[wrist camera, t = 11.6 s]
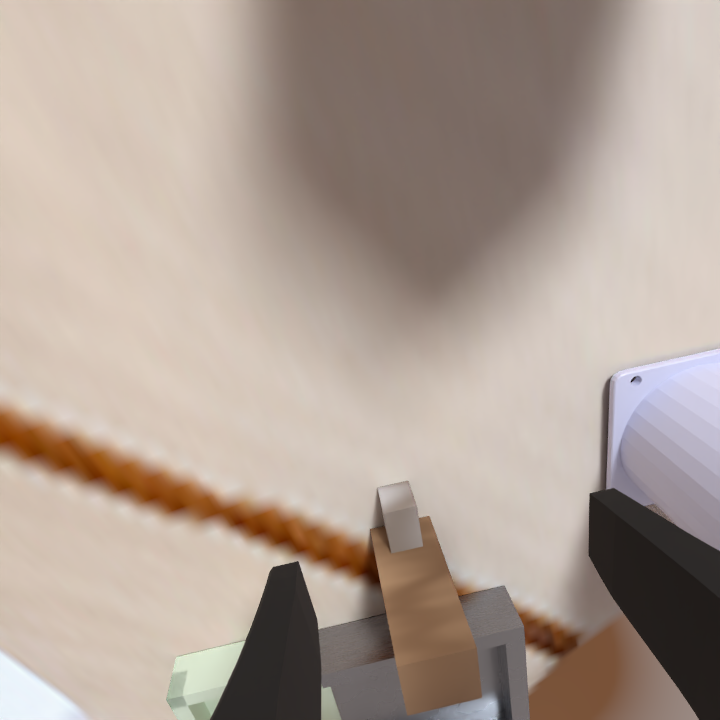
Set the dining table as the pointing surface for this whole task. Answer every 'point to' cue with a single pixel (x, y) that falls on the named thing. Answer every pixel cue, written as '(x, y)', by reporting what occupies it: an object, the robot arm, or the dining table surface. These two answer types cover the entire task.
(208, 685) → the tray
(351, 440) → the dining table surface
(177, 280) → the dining table surface
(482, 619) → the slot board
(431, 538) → the brown block with peg
